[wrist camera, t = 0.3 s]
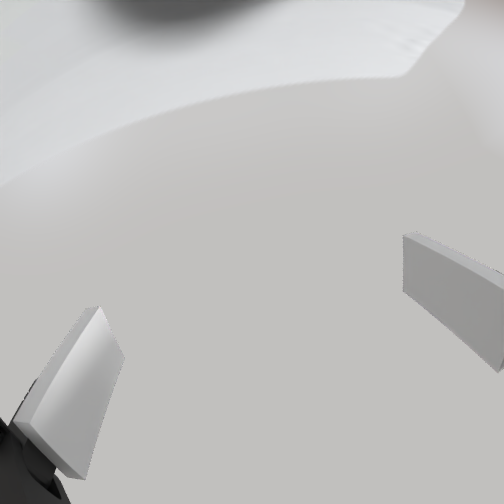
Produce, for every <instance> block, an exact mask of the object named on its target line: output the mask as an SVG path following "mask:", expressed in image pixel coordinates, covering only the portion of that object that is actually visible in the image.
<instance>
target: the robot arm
mask: <svg viewBox="0 0 504 504" xmlns="http://www.w3.org/2000/svg"><path fill="white" fill-rule="evenodd" d="M403 257H404V258H403V292H405V293H406V294H407V295H408V296H410V297H411V298H412V299H413V300H415V301H416V302H417V303H418V304H420V305H421V306H422V307H423V308H424V309H426V310H427V311H428V312H429V313H430V314H432V315H433V316H434V317H435V318H437V319H438V320H439V321H440V322H441V323H442V324H444V325H445V326H446V327H447V328H448V329H449V330H450V331H452V332H453V333H454V334H455V335H456V336H457V337H459V338H460V339H461V340H462V341H463V342H464V343H465V344H467V345H468V346H469V347H470V348H471V349H472V350H473V351H474V352H475V353H477V354H478V355H479V356H480V357H481V358H482V359H483V360H484V361H485V362H486V363H487V364H489V365H490V366H491V367H492V368H493V369H494V370H495V371H496V372H497V373H498V372H500V371H501V370H503V369H504V275H503V274H502V273H500V272H498V271H496V270H494V269H492V268H490V267H488V266H486V265H484V264H482V263H480V262H478V261H476V260H475V259H473V258H471V257H468V256H467V255H464V254H462V253H461V252H459V251H457V250H454V249H452V248H450V247H448V246H446V245H444V244H442V243H440V242H437V241H436V240H433V239H431V238H429V237H427V236H425V235H422V234H420V233H418V232H413V233H409V234H405V235H403ZM124 359H125V357H124V355H123V353H122V351H121V349H120V347H119V345H118V343H117V341H116V339H115V337H114V335H113V333H112V331H111V328H110V326H109V324H108V322H107V320H106V318H105V315H104V313H103V311H102V308H101V306H97V307H93V308H88V309H86V310H85V311H84V312H83V314H82V315H81V316H80V318H79V319H78V320H77V322H76V323H75V324H74V326H73V327H72V329H71V330H70V331H69V333H68V334H67V336H66V337H65V338H64V340H63V341H62V343H61V344H60V346H59V347H58V349H57V350H56V351H55V353H54V354H53V356H52V357H51V359H50V360H49V362H48V363H47V365H46V367H45V368H44V370H43V371H42V373H41V374H40V376H39V377H38V378H37V379H36V380H35V381H34V383H33V384H32V386H31V388H30V389H29V393H27V394H26V396H25V397H24V400H23V401H22V403H21V404H20V406H19V408H18V410H17V411H16V413H15V415H14V416H13V418H12V420H11V422H10V424H9V425H8V426H7V425H6V424H5V423H4V422H3V420H2V419H1V418H0V504H71V503H70V501H69V499H68V497H67V495H66V493H65V490H64V488H63V486H62V484H61V481H60V480H59V478H58V477H57V476H56V475H55V474H54V473H55V470H56V467H57V468H58V469H59V470H60V471H61V472H62V473H63V474H64V475H65V476H67V477H69V478H75V479H82V480H85V479H86V476H87V472H88V468H89V465H90V461H91V458H92V454H93V451H94V447H95V444H96V441H97V437H98V434H99V431H100V428H101V425H102V422H103V419H104V415H105V412H106V409H107V406H108V404H109V400H110V398H111V395H112V392H113V389H114V386H115V384H116V381H117V378H118V375H119V373H120V370H121V367H122V365H123V361H124Z"/></svg>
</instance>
